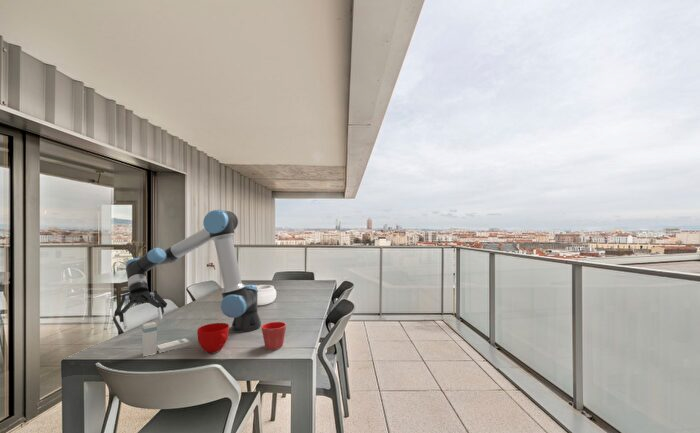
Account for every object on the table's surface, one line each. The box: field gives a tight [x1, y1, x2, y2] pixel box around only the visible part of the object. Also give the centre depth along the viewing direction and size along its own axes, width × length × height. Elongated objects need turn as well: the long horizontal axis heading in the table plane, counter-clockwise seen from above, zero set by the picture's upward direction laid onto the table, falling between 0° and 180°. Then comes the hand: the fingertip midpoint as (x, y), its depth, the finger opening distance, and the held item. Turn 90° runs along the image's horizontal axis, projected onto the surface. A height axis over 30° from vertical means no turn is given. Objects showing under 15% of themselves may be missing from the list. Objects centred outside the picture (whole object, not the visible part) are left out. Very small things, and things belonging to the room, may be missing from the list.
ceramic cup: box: [196, 322, 230, 354], centre depth 132 cm, size 13×17×10 cm
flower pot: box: [261, 321, 287, 351], centre depth 136 cm, size 11×11×10 cm
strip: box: [157, 338, 190, 354], centre depth 136 cm, size 12×6×2 cm, turn 135°
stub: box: [141, 321, 158, 357], centre depth 130 cm, size 5×5×13 cm
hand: (144, 323), depth 134 cm, fingers open, 13 cm apart
